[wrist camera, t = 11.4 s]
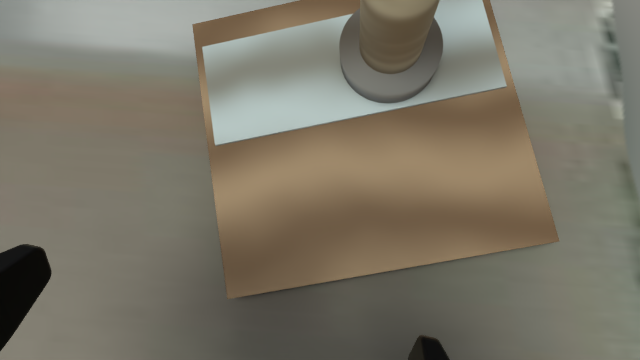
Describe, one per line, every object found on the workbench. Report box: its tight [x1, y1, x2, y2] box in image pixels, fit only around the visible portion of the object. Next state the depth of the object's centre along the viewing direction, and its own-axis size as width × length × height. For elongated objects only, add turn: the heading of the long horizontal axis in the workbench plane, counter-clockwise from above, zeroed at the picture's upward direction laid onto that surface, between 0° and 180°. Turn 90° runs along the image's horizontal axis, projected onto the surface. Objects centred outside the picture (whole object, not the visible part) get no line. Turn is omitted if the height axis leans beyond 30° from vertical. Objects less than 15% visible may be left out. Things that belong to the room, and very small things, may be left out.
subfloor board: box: [192, 0, 559, 299], centre depth 22 cm, size 17×18×1 cm
